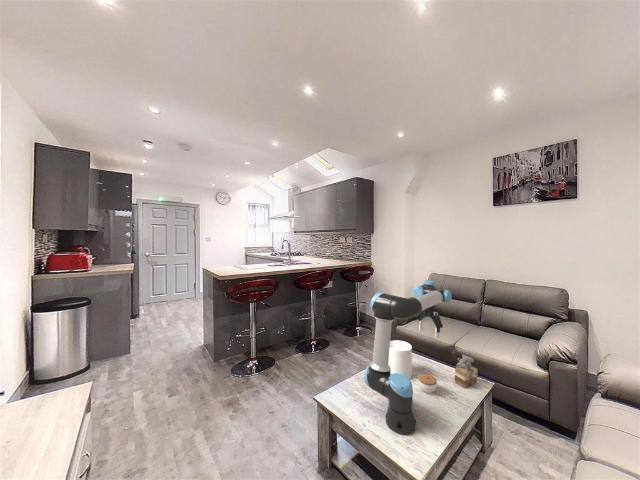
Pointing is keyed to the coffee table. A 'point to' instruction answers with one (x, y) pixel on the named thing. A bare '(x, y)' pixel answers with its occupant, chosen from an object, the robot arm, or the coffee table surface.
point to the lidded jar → (427, 383)
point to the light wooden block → (466, 373)
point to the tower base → (465, 382)
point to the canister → (400, 358)
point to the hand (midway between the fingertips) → (428, 333)
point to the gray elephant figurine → (465, 362)
